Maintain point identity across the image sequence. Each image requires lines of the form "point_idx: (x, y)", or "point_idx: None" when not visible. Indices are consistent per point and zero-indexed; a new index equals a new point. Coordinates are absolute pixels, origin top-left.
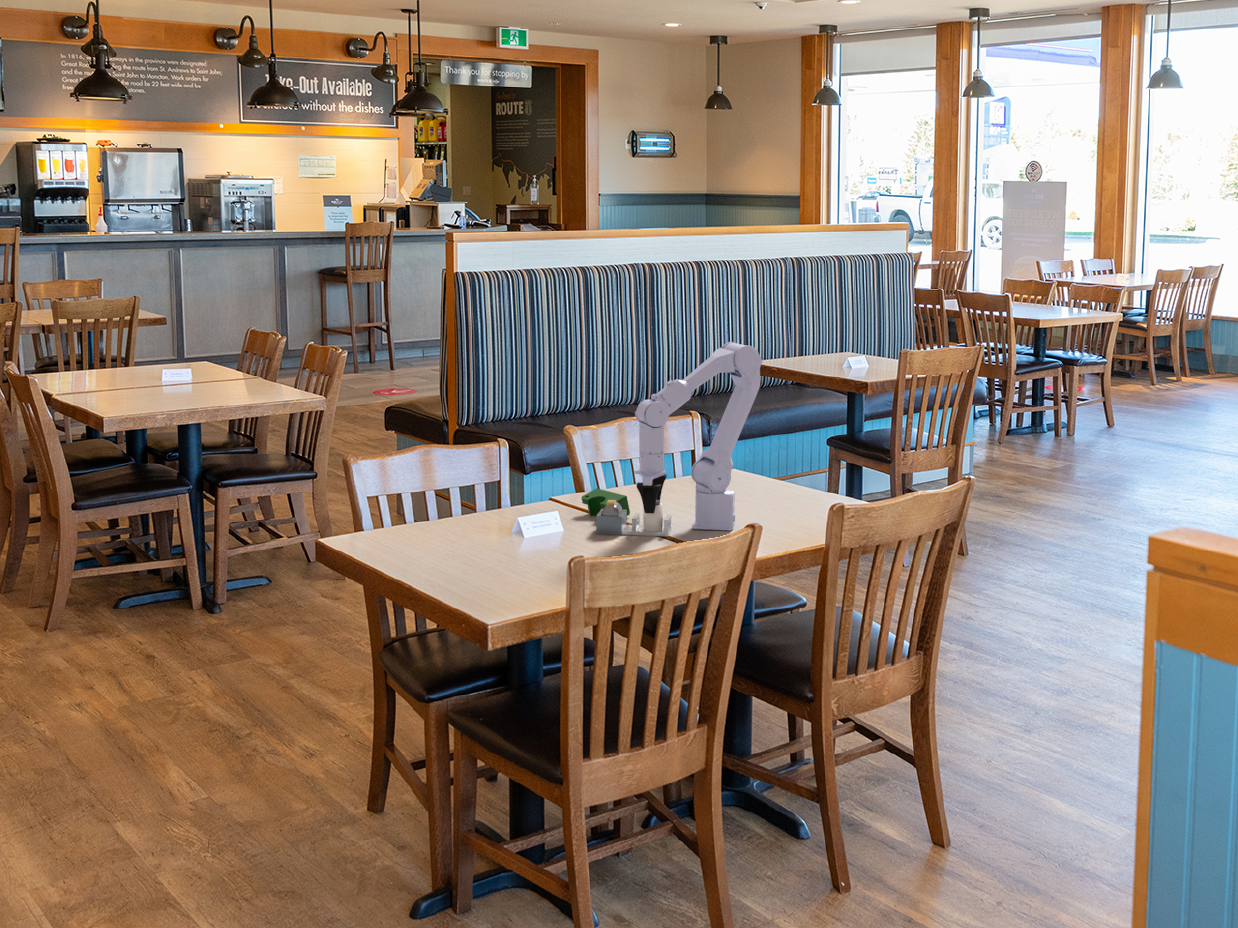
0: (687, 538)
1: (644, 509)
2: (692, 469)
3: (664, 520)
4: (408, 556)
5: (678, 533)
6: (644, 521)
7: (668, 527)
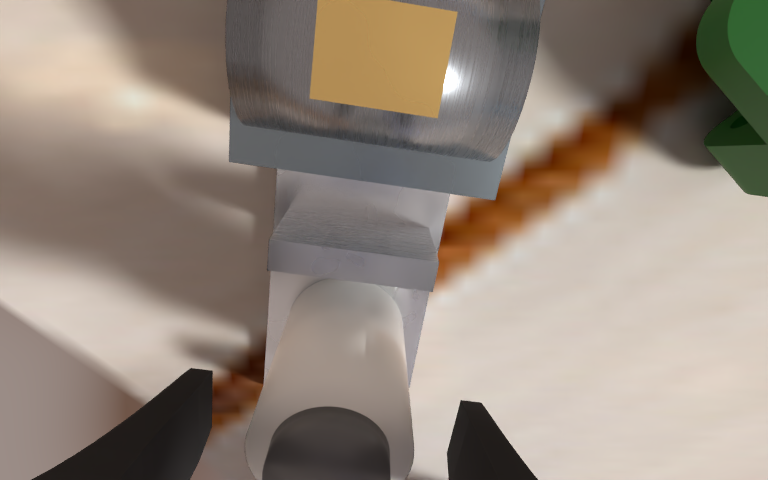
0: (245, 461)
1: (170, 385)
2: None
3: None
4: None
5: None
6: (306, 311)
7: None
